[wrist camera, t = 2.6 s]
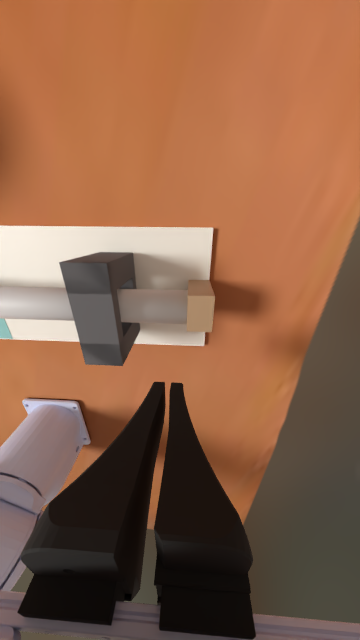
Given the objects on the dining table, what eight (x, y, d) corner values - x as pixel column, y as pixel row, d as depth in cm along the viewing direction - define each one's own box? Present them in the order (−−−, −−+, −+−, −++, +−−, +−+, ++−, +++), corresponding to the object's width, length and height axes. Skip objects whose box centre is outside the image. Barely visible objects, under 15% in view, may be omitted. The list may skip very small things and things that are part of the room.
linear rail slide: (203, 344, 22) (207, 377, 17) (-60, 334, 23) (-127, 362, 18) (212, 227, 16) (222, 227, 12) (-129, 224, 18) (-248, 222, 13)
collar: (140, 330, 20) (122, 365, 15) (112, 329, 20) (85, 364, 15) (133, 252, 17) (106, 263, 12) (100, 252, 17) (59, 262, 12)
